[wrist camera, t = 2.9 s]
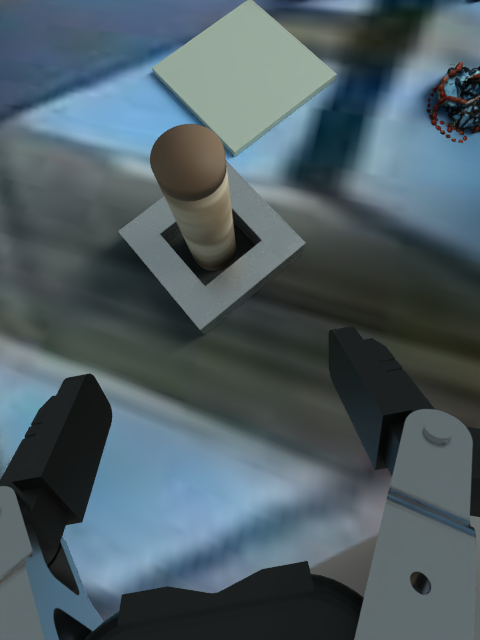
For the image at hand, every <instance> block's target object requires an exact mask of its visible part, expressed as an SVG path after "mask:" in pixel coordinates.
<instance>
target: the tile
mask: <svg viewBox="0 0 480 640" xmlns="http://www.w3.org/2000/svg"><path fill="white" fill-rule="evenodd" d="M152 70H153V73H154V74H155V75H156V76H157V77H158V78H159V80H160V81H161V82H162V83H163V84H164V85H165V86H166V87H167V88H168V89H169V90H170V91H171V92H172V93H173V94H174V95H175V96H176V97H177V98H178V99H179V100H180V101H181V102H182V103H183V104H184V105H185V106H186V107H187V108H188V109H189V110H190V111H191V112H192V113H193V114H194V115H195V116H196V117H197V118H198V119H199V120H200V121H201V122H202V123H203V124H204V126H205V127H206V128H208V129H210V130H212V131H213V132H214V133H215V134H216V135H217V136H218V137H219V138H220V140H221V141H222V143H223V145H224V146H225V147H226V148H227V149H228V150H229V151H230V152H231V153H232V154H233V155H234V156H237V155H238V154H239V153H241V152H242V151H243V150H245V149H246V148H247V147H248V146H250V145H251V144H252V143H254V142H255V141H256V140H258V139H259V138H260V137H261V136H263V135H264V134H265V133H267V132H268V131H269V130H271V129H272V128H273V127H274V126H276V125H277V124H278V123H280V122H281V121H282V120H284V119H285V118H286V117H287V116H289V115H290V114H291V113H293V112H294V111H295V110H297V109H298V108H299V107H301V106H302V105H303V104H304V103H306V102H307V101H308V100H310V99H311V98H312V97H314V96H315V95H316V94H317V93H319V92H320V91H321V90H323V89H324V88H325V87H327V86H328V85H329V84H330V83H332V82H333V81H334V80H335V78H336V75H337V74H336V73H335V72H334V71H332V70H331V69H330V68H329V67H328V66H327V65H326V64H324V63H323V62H322V61H321V60H320V59H319V58H318V57H317V56H315V55H314V54H313V53H312V52H311V51H310V50H309V49H307V48H306V47H305V46H304V45H303V44H302V43H301V42H299V41H298V40H297V39H296V38H295V37H294V36H293V35H291V34H290V33H289V32H288V31H287V30H286V29H285V28H283V27H282V26H281V25H280V24H279V23H278V22H277V21H275V20H274V19H273V18H272V17H271V16H270V15H269V14H267V13H266V12H265V11H264V10H263V9H262V8H261V7H260V6H258V5H257V4H256V3H255V2H254V1H253V0H247V1H246V2H244V3H243V4H241V5H240V6H239V7H237V8H236V9H234V10H233V11H231V12H230V13H229V14H227V15H226V16H224V17H223V18H222V19H220V20H219V21H217V22H216V23H215V24H213V25H212V26H210V27H209V28H207V29H206V30H205V31H203V32H202V33H200V34H199V35H198V36H196V37H195V38H193V39H192V40H191V41H189V42H188V43H186V44H185V45H183V46H182V47H181V48H179V49H178V50H176V51H175V52H174V53H172V54H171V55H169V56H168V57H167V58H165V59H164V60H162V61H161V62H160V63H158V64H157V65H155V66H154V67H152Z"/></svg>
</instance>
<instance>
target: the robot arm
mask: <svg viewBox="0 0 480 640" xmlns="http://www.w3.org/2000/svg"><path fill="white" fill-rule="evenodd" d="M329 372H330V376H331V379H332V382H333V384H334V386H335V388H336V390H337V392H338V394H339V396H340V399H341V401H342V403H343V405H344V407H345V409H346V411H347V413H348V415H349V417H350V419H351V421H352V423H353V425H354V428H355V430H356V432H357V434H358V436H359V438H360V440H361V442H362V444H363V446H364V448H365V450H366V452H367V454H368V457H369V459H370V461H371V463H372V465H373V467H374V469H375V470H378V469H383V468H388V470H389V472H390V474H391V476H392V480H391V484H390V489H389V492H388V496H387V500H386V504H385V509H384V513H383V517H382V522H381V526H380V530H379V535H378V539H377V543H376V548H375V552H374V556H373V561H372V565H371V570H370V574H369V578H368V582H367V587H366V591H365V596H364V598H363V597H362V596H361V595H360V594H358V593H357V592H355V591H354V590H352V589H351V588H349V587H348V586H346V585H344V584H342V583H340V582H338V581H336V580H333V579H331V578H327V577H324V576H321V575H315V574H310V569H309V565H308V561H305V562H299V563H294V564H288V565H283V566H277V567H272V568H266V569H262V570H260V571H258V572H256V573H254V574H252V575H250V576H248V577H247V578H245V579H243V580H241V581H239V582H237V583H235V584H233V585H232V586H230V587H228V588H226V589H224V590H222V591H220V592H218V593H205V592H199V591H192V590H186V589H180V588H174V587H162V588H157V589H151V590H146V591H140V592H135V593H129V594H124V595H122V598H121V604H120V610H119V612H117V613H115V614H114V615H113V616H111V617H110V618H108V619H107V620H105V621H104V622H103V621H102V619H101V617H100V616H99V614H98V612H97V611H96V610H95V608H94V607H93V605H92V604H91V602H90V600H89V598H88V596H87V594H86V592H85V589H84V586H83V584H82V581H81V579H80V576H79V574H78V571H77V569H76V566H75V564H74V561H73V559H72V556H71V554H70V551H69V548H68V546H67V543H66V541H65V539H64V538H63V537H62V535H63V532H64V529H65V526H66V525H69V524H74V523H80V522H82V521H83V518H84V514H85V511H86V508H87V504H88V501H89V497H90V494H91V491H92V487H93V484H94V480H95V477H96V474H97V470H98V467H99V463H100V460H101V457H102V453H103V450H104V446H105V443H106V439H107V436H108V433H109V429H110V426H111V422H112V409H111V406H110V403H109V402H108V400H107V398H106V396H105V394H104V393H103V391H102V389H101V387H100V385H99V384H98V382H97V380H96V378H95V377H94V376H93V375H92V374H85V375H80V376H74V377H69V378H66V379H65V380H64V381H63V383H62V385H61V387H60V389H59V391H58V393H57V395H56V396H52V397H51V398H50V399H49V400H48V401H47V402H46V403H45V404H44V405H43V406H42V407H41V408H40V409H39V411H38V413H37V414H36V416H35V418H34V420H33V422H32V423H31V425H32V426H31V427H29V429H28V431H27V433H26V434H25V439H23V440H22V442H21V443H20V445H19V447H18V449H17V451H16V453H15V454H14V456H13V458H12V460H11V462H10V463H9V465H8V467H7V469H6V471H5V473H4V474H3V476H2V478H1V480H0V640H474V633H475V631H474V630H475V591H476V590H475V589H476V549H477V546H476V545H477V544H476V533H475V529H474V528H473V527H471V526H470V515H471V516H477V517H480V429H477V428H470V427H466V426H465V425H464V424H463V423H462V422H460V421H459V420H458V419H456V418H455V417H453V416H451V415H449V414H447V413H445V412H442V411H439V410H435V409H434V407H433V406H432V405H431V404H430V402H429V401H428V400H427V399H426V397H425V396H424V395H423V393H422V392H421V391H420V390H419V388H418V387H417V386H416V385H415V383H414V382H413V381H412V379H411V378H410V377H409V376H408V374H407V373H406V372H405V371H403V369H402V367H401V365H400V364H399V363H398V362H397V361H395V358H394V356H393V355H392V354H391V353H390V351H389V350H388V349H387V348H386V347H385V346H384V345H382V344H380V343H379V342H377V341H376V340H374V339H372V338H371V339H366V340H363V339H362V337H361V336H360V334H359V333H358V332H357V330H356V329H355V328H354V327H353V326H351V327H345V328H340V329H334V330H330V331H329Z"/></svg>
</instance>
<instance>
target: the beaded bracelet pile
mask: <svg viewBox="0 0 480 640" xmlns="http://www.w3.org/2000/svg"><path fill="white" fill-rule="evenodd" d="M450 65H453V64H450ZM455 65H457V66H456V67H455V68H449V69H448V72H447V74H446V75H445V76H444V77H443V79H442V80H441V82H440V84H438V85H437V86H436V88H434V89H433V90H432V91H433V92H434V93H435V92H436V93H438V102H437V104H436V105H435V106H434V107H433V109H431V110H430V109H427V112H428V113H430V111H432V112H431V113H432V115H431V114H429V116H430V118H432V125H435V126H436V129H437V130H440V133H441V134H445V131H443V130H441V127H440V126H437V125H436V124H437V121H438V119H437V118H436V117H437V113H436V112H437V110H438V108H439V106H441V105H443V106H444V107H445V108H446V111H447V112H448V115H449V117H450V118H451V120H452V121H453V123H451V124H450V123H446V124H447V126H448V127H449V128H448V130H447V131H448V132H449V133H451V132H452V130H456V132H459V134H461V135H464V130H465V129H467V128H469V129H471V130H472V133H475V132H477V131H478V132H480V66H479V67H478V68H473V69H472V70H469V68H466V67H462V66H463V63H462V62H459V64H457V63H456V64H455ZM430 96H433V94H432V93H431V94H430ZM429 101H430V98H429V99H428V102H429ZM427 107H430V104H427ZM440 124H444V122H443V121H440ZM446 137H447V138H450V135H446ZM463 140H464V141H465V140H467V137H466V136H464V137H463ZM463 140H459V141H458V142H462V143H463ZM452 141H454V142H455V141H456V139H452Z"/></svg>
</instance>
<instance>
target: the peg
mask: <svg viewBox="0 0 480 640" xmlns="http://www.w3.org/2000/svg"><path fill="white" fill-rule="evenodd" d="M150 164H151V168H152V171H153V173H154V175H155V177H156V179H157V182H158V184H159V186H160V188H161V190H162V192H163V194H164V197H165V199H166V201H167V203H168V205H169V207H170V209H171V211H172V214H173V216H174V218H175V220H176V222H177V224H178V226H179V228H180V231H181V233H182V235H183V237H184V239H185V241H186V243H187V245H188V248H189V250H190V252H191V254H192V256H193V258H194V260H195V262H196V263H197V264H198V265H199V266H200V267H202V268H203V269H206V270H210V271H217V270H221V269H224V268H225V267H227V266H228V265H229V264H230V263H231V262H232V261H233V259H234V257H235V255H236V242H235V234H234V225H233V217H232V208H231V200H230V191H229V183H228V175H227V166H226V158H225V150H224V146H223V143H222V141H221V140H220V138H219V137H218V136H217V135H216V134H215V133H214V132H213V131H212V130H210V129H208V128H206V127H204V126H201V125H196V124H184V125H179V126H176V127H173V128H171V129H169V130H167V131H166V132H164V133H163V134H162V135H161V136H160V137H159V138H158V139H157V141H156V142H155V144H154V145H153V148H152V150H151V155H150Z"/></svg>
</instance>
